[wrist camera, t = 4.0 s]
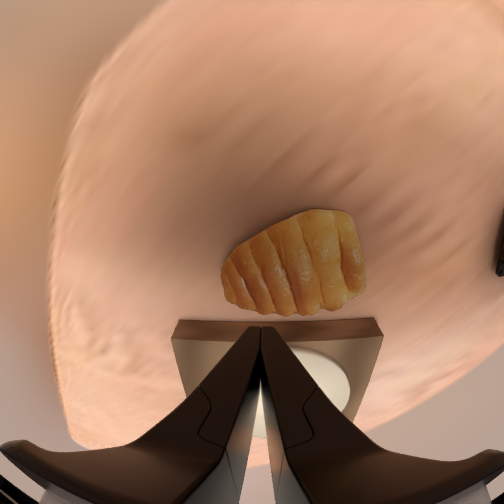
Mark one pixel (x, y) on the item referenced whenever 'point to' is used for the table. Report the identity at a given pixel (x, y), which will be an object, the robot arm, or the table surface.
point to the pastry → (297, 266)
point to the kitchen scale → (303, 346)
